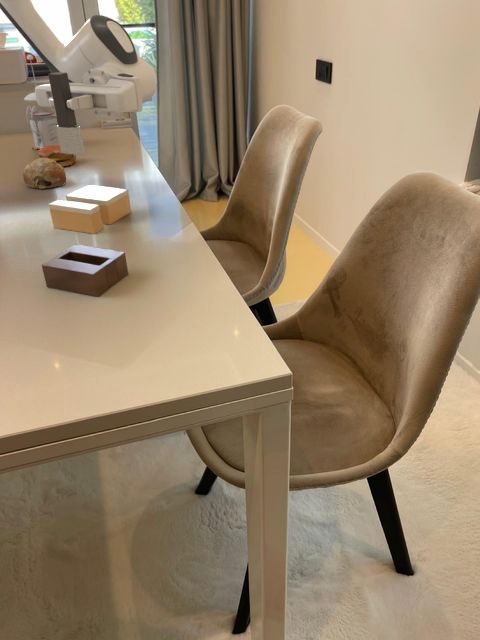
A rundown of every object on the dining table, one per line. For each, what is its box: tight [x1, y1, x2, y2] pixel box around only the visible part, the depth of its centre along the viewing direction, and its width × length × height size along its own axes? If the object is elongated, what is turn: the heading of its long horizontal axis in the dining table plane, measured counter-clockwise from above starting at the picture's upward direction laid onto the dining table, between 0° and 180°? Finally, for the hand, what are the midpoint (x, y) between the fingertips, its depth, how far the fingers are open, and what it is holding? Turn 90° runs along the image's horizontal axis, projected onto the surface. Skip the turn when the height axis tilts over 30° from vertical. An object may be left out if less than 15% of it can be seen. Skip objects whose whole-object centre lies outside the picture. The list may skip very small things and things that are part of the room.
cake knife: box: [47, 72, 86, 156], centre depth 104 cm, size 5×2×14 cm, turn 69°
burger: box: [37, 145, 77, 168], centre depth 153 cm, size 10×9×5 cm
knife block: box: [41, 243, 129, 298], centre depth 93 cm, size 10×9×4 cm
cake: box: [65, 184, 132, 225], centre depth 119 cm, size 10×8×5 cm
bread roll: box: [22, 157, 67, 190], centre depth 138 cm, size 10×10×8 cm
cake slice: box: [48, 199, 104, 235], centre depth 113 cm, size 10×3×5 cm, turn 69°
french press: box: [23, 54, 60, 148], centre depth 163 cm, size 10×12×25 cm
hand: (60, 104), depth 102 cm, fingers closed on cake knife, 2 cm apart
